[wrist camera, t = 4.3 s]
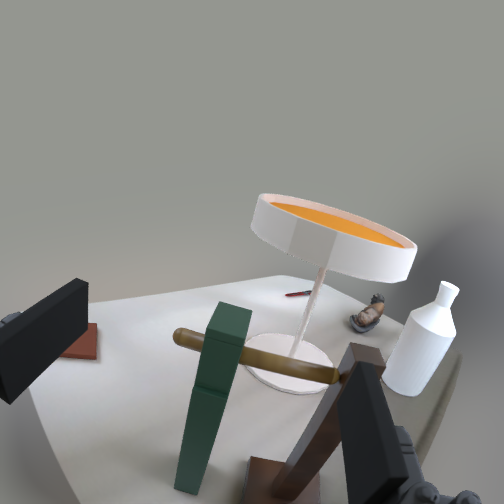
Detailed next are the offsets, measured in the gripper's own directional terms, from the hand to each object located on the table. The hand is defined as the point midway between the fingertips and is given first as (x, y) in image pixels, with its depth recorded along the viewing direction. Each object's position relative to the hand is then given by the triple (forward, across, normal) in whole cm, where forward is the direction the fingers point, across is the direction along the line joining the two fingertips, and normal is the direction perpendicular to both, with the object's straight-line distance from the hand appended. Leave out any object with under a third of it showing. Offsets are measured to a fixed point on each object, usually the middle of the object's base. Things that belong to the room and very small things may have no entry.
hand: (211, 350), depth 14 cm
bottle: (+45, +40, -30) cm, 67 cm away
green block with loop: (+11, 0, -29) cm, 31 cm away
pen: (+81, +16, -29) cm, 88 cm away
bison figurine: (+69, +34, -30) cm, 82 cm away
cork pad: (+28, -28, -29) cm, 49 cm away
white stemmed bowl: (+43, +12, -30) cm, 54 cm away
